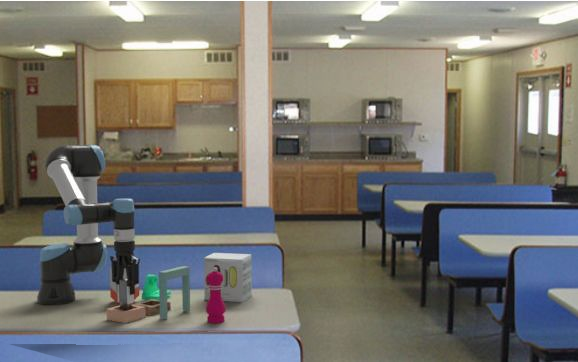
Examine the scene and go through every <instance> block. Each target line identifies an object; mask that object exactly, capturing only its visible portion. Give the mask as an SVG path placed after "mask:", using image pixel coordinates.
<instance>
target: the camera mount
mask: <svg viewBox="0 0 578 362" xmlns="http://www.w3.org/2000/svg"><path fill="white" fill-rule="evenodd" d="M158 283H159V275H157V274H147V275H146V277H145V283H144V286H143V289H142V293H141V300H143V301H147V300H150V299H155V300H159V285H158ZM170 295H172V291H171V290H170V289H169V290H168V289H167V299H168V298H169V296H170Z"/></svg>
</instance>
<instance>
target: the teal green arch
mask: <svg viewBox="0 0 578 362" xmlns="http://www.w3.org/2000/svg"><path fill="white" fill-rule="evenodd" d="M190 267H191V266H185V265H182V266H178V267H174V268H171V269H170V268H169V269H166V270H165V269H164V270H162V271H161V270H160V271H158V289H159V301H160V313H159V318H161V319H165V320H166V319H168V311H167V302H168V298H167V290H168V281H169V280H173V279H178V278H181V281H182V282H181V284H182V285H181V288H182V289H181V290H182V291H181V293H182V311H183V312H191V294H190V293H191V280H190V279H191V278H190V276H191V274H190V273H191V272H190Z"/></svg>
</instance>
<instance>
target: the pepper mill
mask: <svg viewBox="0 0 578 362" xmlns="http://www.w3.org/2000/svg"><path fill="white" fill-rule="evenodd" d="M217 270H218V269H217V268H216V267H214V268H213V272H210V273H209V274H208V276H207V281H208V283H209V285H208V286H209V289H210V298H209V300H207V303H206V307H205V312H206V314H207V315H208V316H206V317H207V319H206V320H207V321H206V322H208V323H210V324H221V323H224V322H225V315H224V314H225V312H226V310H227V309H226V304H225V301H223V300H222V297H221V289H222V284H221V283H222V282H223V279H224V278H223V275H222V273H220V272H218V271H217Z"/></svg>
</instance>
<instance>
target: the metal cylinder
mask: <svg viewBox="0 0 578 362" xmlns="http://www.w3.org/2000/svg"><path fill="white" fill-rule="evenodd" d="M127 285H128V280H127V278H123V279H119V290H120V303H119V305H120V310H123V311H127V310H130V309H132V304H133V303H130V304H127Z"/></svg>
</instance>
